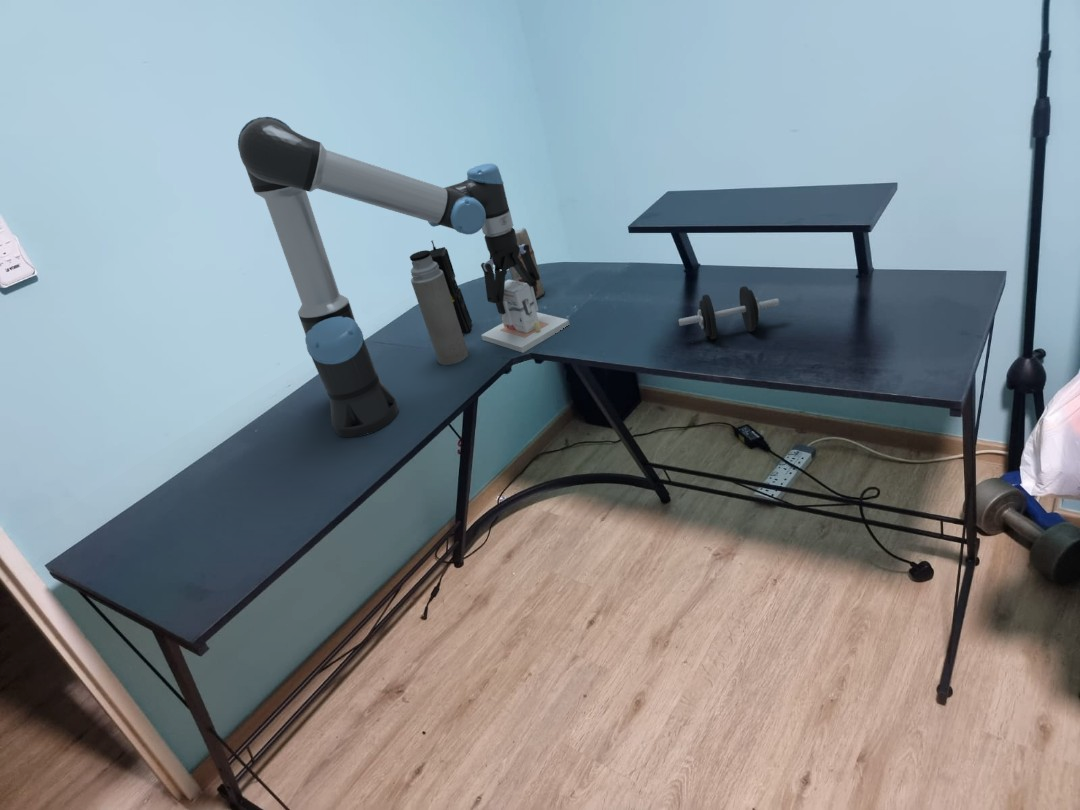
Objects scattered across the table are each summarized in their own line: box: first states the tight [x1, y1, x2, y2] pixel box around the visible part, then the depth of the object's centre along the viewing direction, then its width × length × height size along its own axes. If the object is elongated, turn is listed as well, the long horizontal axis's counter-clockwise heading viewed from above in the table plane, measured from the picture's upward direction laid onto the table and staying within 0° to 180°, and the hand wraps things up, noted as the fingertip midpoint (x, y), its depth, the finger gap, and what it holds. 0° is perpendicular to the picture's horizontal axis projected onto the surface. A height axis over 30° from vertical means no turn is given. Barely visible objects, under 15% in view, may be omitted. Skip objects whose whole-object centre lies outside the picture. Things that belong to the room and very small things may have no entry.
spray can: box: [508, 227, 545, 299], centre depth 200 cm, size 8×8×20 cm
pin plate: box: [481, 311, 570, 354], centre depth 182 cm, size 16×17×4 cm
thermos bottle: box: [409, 249, 469, 366], centre depth 174 cm, size 8×8×28 cm
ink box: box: [503, 279, 540, 333], centre depth 179 cm, size 9×5×12 cm, turn 41°
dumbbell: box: [677, 285, 780, 340], centre depth 155 cm, size 22×10×10 cm, turn 89°
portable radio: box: [429, 240, 473, 335], centre depth 188 cm, size 8×6×25 cm
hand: (521, 316), depth 181 cm, fingers open, 8 cm apart
